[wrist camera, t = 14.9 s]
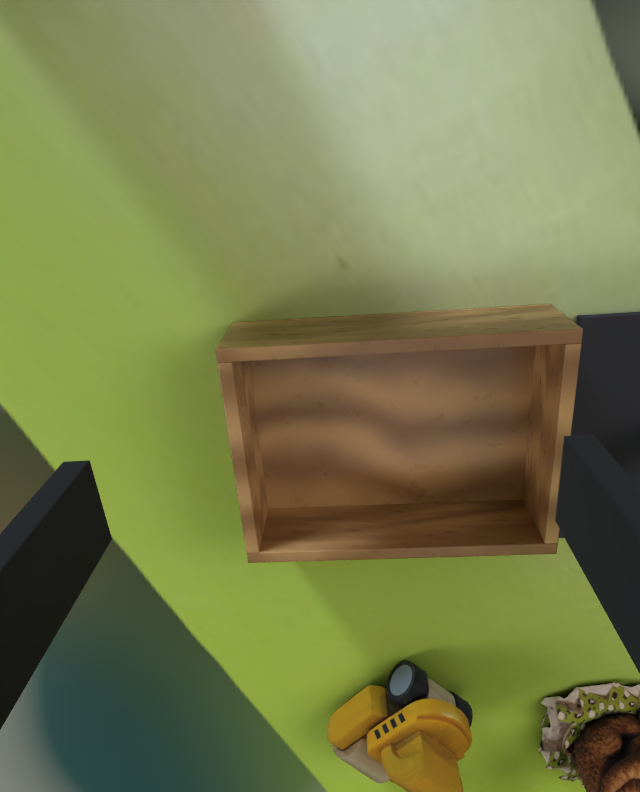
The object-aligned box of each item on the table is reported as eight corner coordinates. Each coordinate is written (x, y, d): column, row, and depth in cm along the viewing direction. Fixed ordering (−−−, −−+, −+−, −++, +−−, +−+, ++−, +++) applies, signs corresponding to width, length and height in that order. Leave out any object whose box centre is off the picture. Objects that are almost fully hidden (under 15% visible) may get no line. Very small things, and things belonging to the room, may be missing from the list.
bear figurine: (670, 767, 62) (742, 902, 51) (530, 767, 63) (570, 901, 52) (694, 677, 57) (780, 808, 45) (541, 680, 58) (588, 808, 46)
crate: (232, 322, 44) (214, 349, 38) (551, 303, 42) (583, 328, 36) (259, 515, 51) (248, 563, 45) (532, 506, 49) (556, 554, 44)
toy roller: (321, 713, 61) (316, 819, 51) (418, 643, 56) (433, 745, 47) (379, 752, 63) (385, 861, 54) (478, 688, 58) (504, 794, 49)
